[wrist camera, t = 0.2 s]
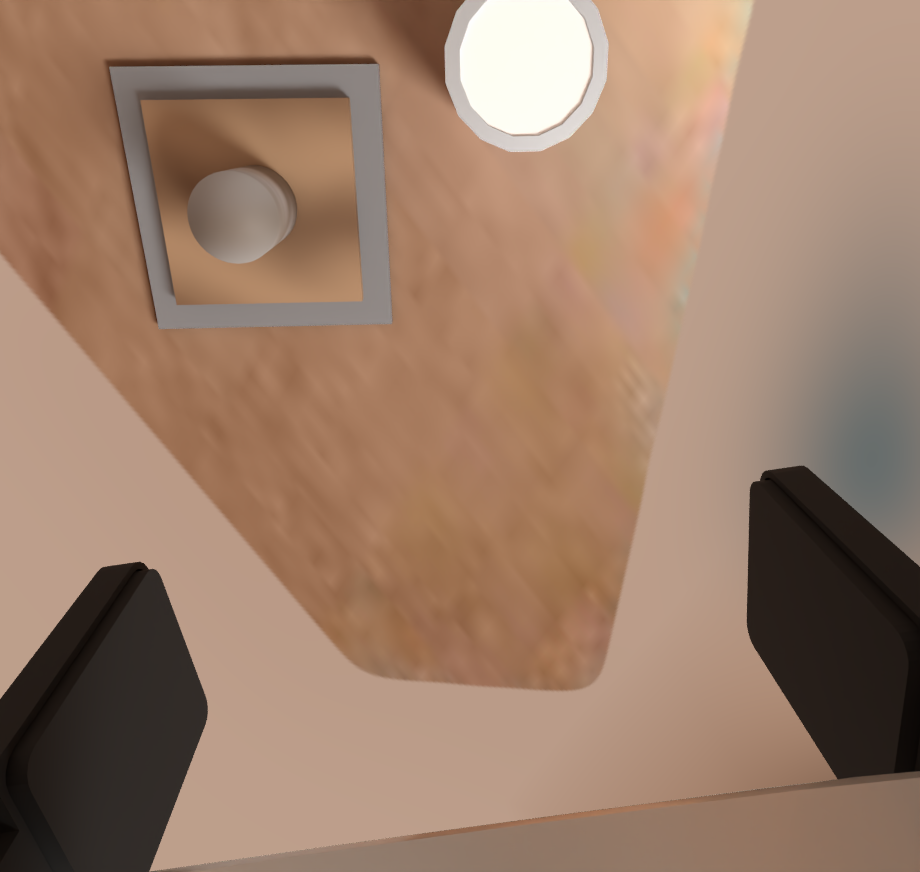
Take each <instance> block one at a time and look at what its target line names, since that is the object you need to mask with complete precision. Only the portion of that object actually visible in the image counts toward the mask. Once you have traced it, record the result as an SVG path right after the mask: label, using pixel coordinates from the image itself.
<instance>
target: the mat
mask: <svg viewBox="0 0 920 872" xmlns="http://www.w3.org/2000/svg"><path fill="white" fill-rule="evenodd" d="M109 69H110V74H111V80H112V85H113V90H114V96H115V101H116V106H117V111H118V117H119V122H120V127H121V132H122V138H123V143H124V148H125V153H126V159H127V164H128V169H129V174H130V180H131V185H132V190H133V195H134V201H135V206H136V211H137V216H138V222H139V227H140V232H141V237H142V243H143V248H144V253H145V258H146V264H147V269H148V274H149V279H150V285H151V290H152V295H153V300H154V306H155V311H156V316H157V321H158V327H159V329H180V328H225V327H271V326H316V325H362V324H392V304H391V285H390V266H389V247H388V228H387V208H386V189H385V170H384V151H383V132H382V113H381V94H380V75H379V64H324V65H232V66H139V67H109ZM280 98H350V107H351V122H352V137H353V151H354V166H355V181H356V195H357V210H358V225H359V239H360V254H361V268H362V283H363V301H351V302H304V303H256V304H208V305H177V304H176V299H175V293H174V287H173V282H172V276H171V271H170V265H169V259H168V254H167V248H166V242H165V237H164V231H163V225H162V220H161V214H160V209H159V203H158V197H157V192H156V186H155V180H154V175H153V169H152V163H151V158H150V152H149V147H148V141H147V135H146V130H145V124H144V118H143V113H142V107H141V101H140V100H198V99H280Z"/></svg>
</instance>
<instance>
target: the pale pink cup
mask: <svg viewBox="0 0 920 872" xmlns="http://www.w3.org/2000/svg"><path fill="white" fill-rule="evenodd" d="M608 45H609V43H608V40H607V37H606V33H605V30H604V27H603V24H602V20H601V17H600V14H599V11H598V8H597V7H596V6H595V5H594V3H593V2H592V1H591V0H465V1H464V3H463V4H462V5H461V6H460V8H459V9H458V10H457V11H456V14H455V17H454V20H453V23H452V26H451V29H450V32H449V35H448V38H447V41H446V44H445V83H446V86H447V88H448V91H449V93H450V96H451V98H452V101H453V103H454V106H455V108H456V111H457V114H458V116H459V117H460V118H461V119H462V120H463V121H464V122H465V123H466V124H467V125H468V126H469V128H470V129H471V130H472V131H473V132H474V133H475V134H476V135H477V136H478V137H479V138H480V139H481V140H483V141H485V142H488V143H490V144H492V145H495V146H497V147H499V148H502V149H504V150H506V151H509V152H525V151H542V150H544V149H546V148H548V147H550V146H553V145H555V144H557V143H559V142H561V141H563V140H565V139H568V138H570V137H571V135H572V134H573V133H574V132H575V131H576V130H577V129H578V128H579V127H580V126H581V125H582V124H583V123H584V122H585V121H586V119H587V118H588V117H589V116H590V115H591V114H592V113H593V111H594V108H595V106H596V104H597V101H598V99H599V97H600V94H601V92H602V89H603V87H604V85H605V82H606V80H607V62H608Z"/></svg>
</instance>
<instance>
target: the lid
mask: <svg viewBox="0 0 920 872" xmlns="http://www.w3.org/2000/svg"><path fill="white" fill-rule="evenodd" d="M140 101H141V107H142V113H143V118H144V124H145V130H146V135H147V141H148V147H149V152H150V158H151V163H152V169H153V175H154V180H155V186H156V192H157V197H158V203H159V209H160V214H161V220H162V225H163V231H164V237H165V242H166V248H167V254H168V259H169V265H170V271H171V276H172V282H173V287H174V293H175V299H176V304H177V305H208V304H256V303H304V302H351V301H363V283H362V268H361V254H360V239H359V225H358V210H357V195H356V181H355V166H354V151H353V137H352V122H351V107H350V98H280V99H198V100H140Z"/></svg>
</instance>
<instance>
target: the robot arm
mask: <svg viewBox="0 0 920 872" xmlns="http://www.w3.org/2000/svg"><path fill="white" fill-rule="evenodd" d="M747 596H748V597H747V628H748V633H749V636H750V639H751V642H752V644H753V646H754V648H755V649H756V651H757V652H758V654H759V655H760V657H761V659H762V660H763V662H764V663H765V665H766V667H767V668H768V670H769V671H770V673H771V674H772V676H773V678H774V679H775V681H776V682H777V684H778V686H779V687H780V689H781V690H782V692H783V693H784V695H785V696H786V698H787V700H788V701H789V703H790V704H791V706H792V708H793V709H794V711H795V712H796V714H797V716H798V717H799V719H800V720H801V722H802V723H803V725H804V727H805V728H806V730H807V731H808V733H809V734H810V736H811V738H812V739H813V741H814V742H815V744H816V746H817V747H818V749H819V750H820V752H821V753H822V755H823V757H824V758H825V760H826V761H827V763H828V764H829V766H830V768H831V769H832V771H833V772H834V774H835V775H836V777H837V780H829V781H823V782H814V783H807V784H797V785H788V786H780V787H771V788H763V789H755V790H747V791H739V792H732V793H724V794H716V795H709V796H701V797H693V798H686V799H678V800H670V801H663V802H655V803H648V804H639V805H632V806H624V807H617V808H609V809H601V810H593V811H585V812H578V813H570V814H563V815H555V816H548V817H541V818H533V819H526V820H518V821H511V822H503V823H496V824H489V825H481V826H474V827H466V828H459V829H451V830H444V831H437V832H429V833H422V834H415V835H408V836H400V837H393V838H386V839H378V840H372V841H364V842H356V843H349V844H342V845H335V846H328V847H320V848H313V849H307V850H300V851H292V852H285V853H279V854H271V855H264V856H257V857H250V858H243V859H236V860H229V861H222V862H215V863H209V864H201V865H194V866H187V867H180V868H173V869H166V870H159V871H151V872H920V567H919V566H918V565H917V564H916V563H915V562H914V561H913V560H911V559H910V558H909V557H908V556H907V555H906V554H905V553H904V552H902V551H901V550H900V549H899V548H898V547H897V546H895V545H894V544H893V543H892V542H891V541H890V540H889V539H888V538H886V537H885V536H884V535H883V534H882V533H881V532H880V531H878V530H877V529H876V528H875V527H874V526H873V525H872V524H870V523H869V522H868V521H867V520H866V519H865V518H864V517H863V516H862V515H860V514H859V513H858V512H857V511H856V510H854V508H852V507H851V506H850V505H849V504H848V503H847V502H846V501H844V500H843V499H842V498H841V497H840V496H839V495H838V494H836V493H835V492H834V491H833V490H832V489H831V488H830V487H829V486H827V485H826V484H825V483H824V482H823V481H822V480H821V479H819V478H818V477H817V476H816V475H815V474H814V473H813V472H811V471H810V470H809V469H808V468H806V467H805V466H796V467H788V468H782V469H775V470H768V471H765V472H764V473H763V474H762V476H761V479H760V481H756V482H753V483H752V485H751V488H750V508H749V551H748V594H747ZM207 710H208V706H207V700H206V697H205V694H204V691H203V688H202V686H201V683H200V680H199V678H198V675H197V672H196V670H195V667H194V664H193V662H192V659H191V657H190V654H189V651H188V648H187V646H186V643H185V640H184V638H183V635H182V632H181V630H180V627H179V624H178V622H177V619H176V616H175V614H174V611H173V608H172V606H171V603H170V600H169V598H168V595H167V592H166V590H165V587H164V584H163V582H162V579H161V577H160V575H159V573H158V572H157V571H156V570H154V569H150V570H149V569H148V568H147V566H146V565H145V564H144V563H141V562H135V563H128V564H121V565H114V566H107V567H103V568H101V569H100V570H99V571H98V572H97V573H96V575H95V576H94V577H93V578H92V580H91V581H90V582H89V584H88V585H87V586H86V588H85V589H84V590H83V592H82V593H81V594H80V595H79V597H78V598H77V599H76V601H75V602H74V603H73V605H72V606H71V607H70V609H69V610H68V611H67V612H66V614H65V615H64V617H63V618H62V619H61V620H60V622H59V623H58V624H57V626H56V627H55V628H54V630H53V631H52V632H51V633H50V635H49V636H48V638H47V639H46V640H45V641H44V643H43V644H42V645H41V646H40V648H39V649H38V651H37V652H36V653H35V654H34V656H33V657H32V658H31V660H30V661H29V662H28V664H27V665H26V666H25V668H24V669H23V670H22V672H21V673H20V674H19V676H18V677H17V678H16V679H15V681H14V682H13V683H12V684H11V686H10V687H9V689H8V690H7V691H6V692H5V694H4V695H3V696H2V698H1V699H0V872H149V870H150V868H151V865H152V863H153V860H154V857H155V855H156V852H157V850H158V847H159V844H160V842H161V839H162V836H163V834H164V831H165V829H166V826H167V823H168V821H169V818H170V816H171V813H172V810H173V808H174V805H175V802H176V800H177V797H178V794H179V792H180V789H181V787H182V784H183V782H184V779H185V776H186V774H187V771H188V768H189V766H190V763H191V761H192V758H193V755H194V753H195V750H196V748H197V745H198V742H199V740H200V737H201V734H202V732H203V729H204V727H205V724H206V720H207V714H208V711H207Z"/></svg>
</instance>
